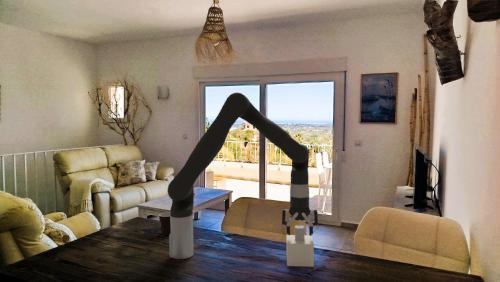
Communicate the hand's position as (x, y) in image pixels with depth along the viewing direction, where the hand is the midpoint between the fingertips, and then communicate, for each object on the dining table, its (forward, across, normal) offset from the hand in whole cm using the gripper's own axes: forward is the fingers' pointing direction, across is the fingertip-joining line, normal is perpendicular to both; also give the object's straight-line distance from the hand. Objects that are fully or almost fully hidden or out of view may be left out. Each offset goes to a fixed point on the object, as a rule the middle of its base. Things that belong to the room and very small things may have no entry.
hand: (299, 234), depth 134 cm
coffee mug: (+11, -64, +31) cm, 72 cm away
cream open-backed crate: (+11, 0, 0) cm, 11 cm away
